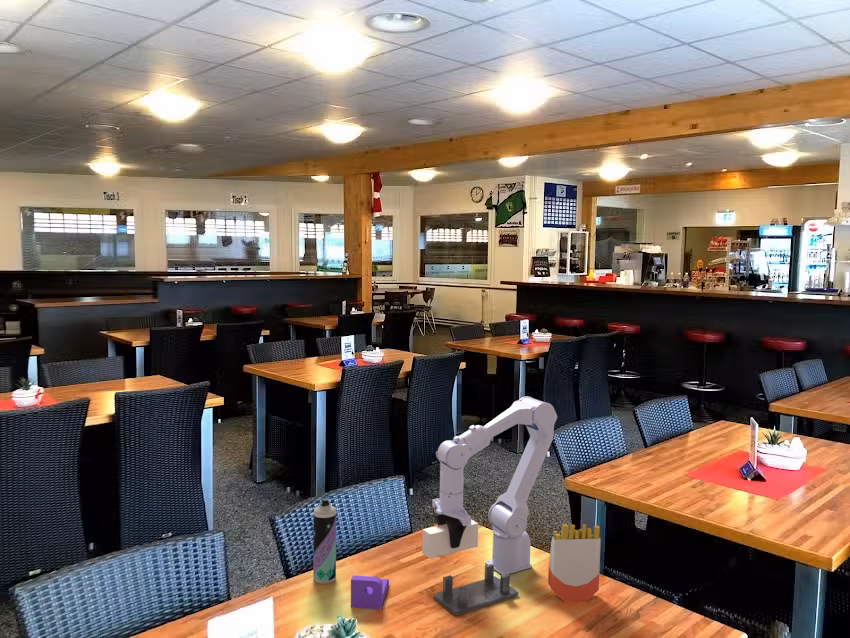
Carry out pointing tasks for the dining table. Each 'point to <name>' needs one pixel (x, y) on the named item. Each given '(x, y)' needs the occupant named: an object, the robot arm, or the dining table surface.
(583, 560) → the french fries container
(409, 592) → the dining table surface
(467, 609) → the grey tray
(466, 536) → the block
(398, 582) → the dining table surface
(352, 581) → the bracket
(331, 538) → the spray can
